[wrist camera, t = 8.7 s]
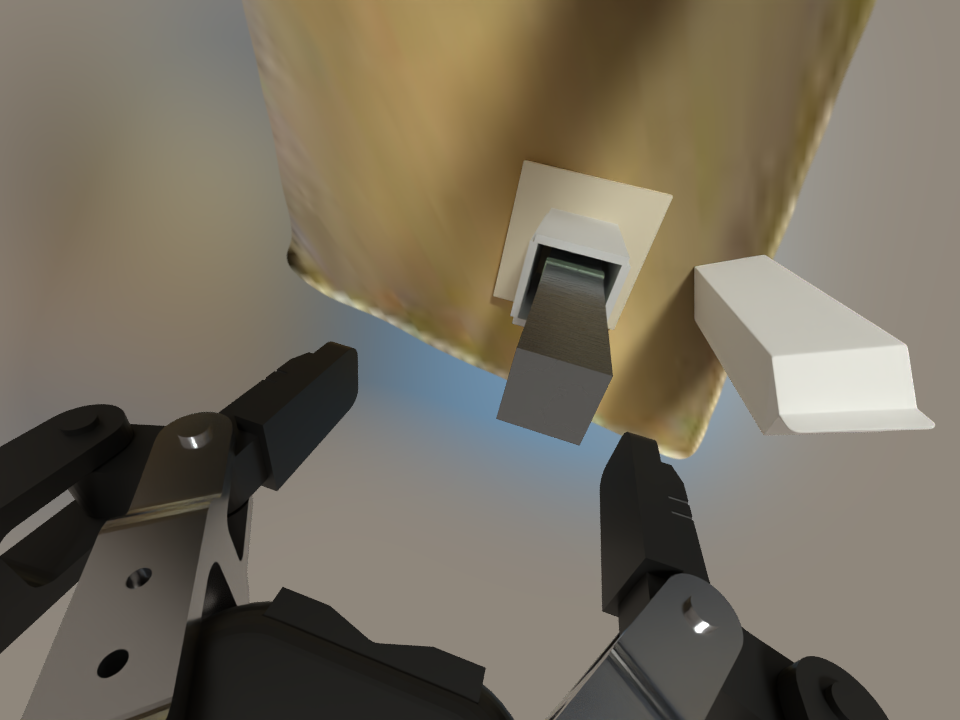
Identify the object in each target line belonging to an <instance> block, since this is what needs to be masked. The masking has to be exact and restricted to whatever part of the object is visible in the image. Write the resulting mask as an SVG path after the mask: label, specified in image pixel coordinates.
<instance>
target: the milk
mask: <svg viewBox="0 0 960 720" xmlns="http://www.w3.org/2000/svg"><path fill="white" fill-rule="evenodd" d="M694 319H695V321H696V323H697V325H698V326H699V328H700V330H701V331H702V333H703V335H704V336H705V338H706V340H707V341H708V343H709V345H710V346H711V348H712V350H713V351H714V353H715V355H716V356H717V358H718V360H719V361H720V363H721V365H722V367H723V368H724V370H725V372H726V373H727V375H728V377H729V378H730V380H731V382H732V383H733V385H734V387H735V388H736V390H737V392H738V393H739V395H740V397H741V398H742V400H743V401H744V403H745V405H746V407H747V408H748V410H749V412H750V413H751V415H752V417H753V418H754V420H755V421H756V423H757V425H758V427H759V428H760V430H761V432H762V433H763V435H795V434H829V433H862V432H883V431H885V430H916V429H932V428H934V426H935V423H934V422H933V421H931V420H930V419H929V418H928V417H927V416H925V415H924V414H923V413H922V412H921V411H919V410H918V409H917V405H916V398H915V392H914V386H913V379H912V372H911V366H910V359H909V353H908V347H907V345H906V344H905V343H903V342H901V341H900V340H898V339H897V338H895V337H894V336H892V335H890V334H889V333H887V332H886V331H884V330H883V329H881V328H879V327H878V326H876V325H875V324H873V323H871V322H870V321H868V320H866V319H865V318H864V317H862V316H860V315H859V314H857V313H856V312H854V311H853V310H851V309H849V308H848V307H846V306H845V305H843V304H841V303H840V302H838V301H837V300H835V299H834V298H832V297H830V296H829V295H827V294H826V293H824V292H823V291H821V290H819V289H818V288H816V287H815V286H813V285H811V284H810V283H808V282H807V281H805V280H804V279H802V278H800V277H799V276H797V275H796V274H794V273H793V272H791V271H789V270H788V269H786V268H785V267H783V266H782V265H780V264H778V263H777V262H775V261H774V260H772V259H770V258H769V257H767V256H766V255H760V256H754V257H748V258H742V259H736V260H730V261H724V262H718V263H712V264H706V265H700V266H695V267H694Z"/></svg>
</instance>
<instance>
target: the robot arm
mask: <svg viewBox="0 0 960 720" xmlns="http://www.w3.org/2000/svg"><path fill="white" fill-rule="evenodd" d="M357 356H358V355H357V351H356V349H354V348H351V347H348V346H344V345H341V344H338V343H335V342H328V343H326V344H325V345H324V346H322V347H321V348H320V349H319V350H317V351H316V352H315V353H310V352H309V353H306V354H303V355H301V356H298V357H296V358H292V359H291V360H289V361H288V362H286V363H285V364H284V365H282V366H281V367H280V368H278V369H277V371H276V372H275V371H274V372H273V373H271V374H270V375H269V376H268V377H266V379H265V380H262V381H261V382H259V383H258V384H257V385H255V386H254V387H253V388H251V389H250V390H248V391H247V392H246V393H244V394H243V395H242V396H240V397H239V398H238V399H236V400H235V401H234V402H232V403H231V404H230V405H228V406H227V407H226V408H224V409H223V410H222V411H220V412H219V413H215V412H199V413H194V414H190V415H186V416H183V417H181V418H179V419H176V420H175V421H173V422H171V423H170V424H168V425H167V426H155V425H137V424H130V423H129V421H128V419H127V417H126V415H125V413H124V412H123V410H122V409H120V408H119V407H116V406H113V405H106V404H98V405H88V406H83V407H79V408H75V409H72V410H69V411H66V412H63V413H61V414H59V415H57V416H55V417H53V418H51V419H49V420H47V421H46V422H44V423H42V424H40V425H39V426H37V427H35V428H33V429H31V430H29V431H28V432H26V433H24V434H22V435H21V436H19V437H17V438H15V439H13V440H12V441H10V442H8V443H6V444H4V445H3V446H1V447H0V542H1V541H2V539H3V538H4V537H5V536H6V534H8V533H9V532H10V531H11V530H12V529H13V528H14V527H16V526H17V525H19V524H20V523H21V522H23V521H24V520H26V519H27V518H28V517H30V516H31V515H32V514H34V513H35V512H37V511H38V510H39V509H40V508H42V507H44V506H45V505H46V504H48V503H49V502H51V501H52V500H53V499H55V498H56V497H57V496H59V495H60V494H62V493H63V492H64V491H66V490H67V489H68V490H69V492H70V493H71V494H72V496H73V497H74V499H75V500H74V501H73V502H71V503H70V504H69V505H67V506H66V507H65V508H63V509H62V510H61V511H59V512H58V513H57V514H56V515H54V516H53V517H51V518H50V519H49V520H47V521H46V522H45V523H43V524H42V525H41V526H39V527H38V528H37V529H36V530H34V531H33V532H31V533H30V534H29V535H28V536H26V537H25V538H24V539H22V540H21V541H20V542H18V543H17V544H16V545H14V546H13V547H12V548H10V549H9V550H8V551H6V552H5V553H4V554H2V555H1V556H0V653H1V652H2V651H4V650H5V649H6V648H7V647H8V646H9V645H10V644H11V643H12V642H13V641H14V640H15V639H16V638H18V637H19V636H20V635H21V634H22V633H23V632H24V631H25V630H26V629H27V628H28V627H29V626H31V625H32V624H33V623H34V622H35V621H36V620H37V619H38V618H39V617H40V616H41V615H42V614H44V613H45V612H46V611H47V610H48V609H49V608H50V607H51V606H52V605H53V604H54V603H55V602H57V601H58V600H59V599H60V598H61V597H62V596H63V595H64V594H65V593H66V592H67V591H68V590H70V589H71V588H72V587H73V586H74V585H75V584H76V583H77V582H78V581H79V582H78V584H77V587H76V589H75V592H74V594H73V596H72V599H71V601H70V604H69V606H68V608H67V611H66V613H65V616H64V618H63V620H62V623H61V625H60V627H59V630H58V632H57V635H56V637H55V639H54V642H53V644H52V647H51V649H50V651H49V654H48V656H47V659H46V661H45V663H44V666H43V668H42V670H41V673H40V675H39V678H38V680H37V682H36V685H35V687H34V690H33V692H32V694H31V697H30V699H29V702H28V704H27V706H26V709H25V711H24V714H23V717H22V718H21V720H514V719H513V717H512V716H511V714H510V713H509V712H508V711H507V709H506V708H505V706H504V705H503V703H502V702H501V701H500V700H499V699H498V698H497V697H496V696H495V695H494V694H493V693H492V692H491V691H490V690H489V689H488V688H486V687H485V686H484V685H483V679H484V673H485V667H482V666H480V665H477V664H475V663H472V662H470V661H467V660H465V659H462V658H460V657H457V656H455V655H452V654H450V653H447V652H445V651H442V650H440V649H437V648H435V647H426V646H412V645H395V644H380V643H375V642H372V641H371V640H369V639H368V638H367V637H366V636H364V635H363V634H362V633H361V632H360V631H359V630H357V629H356V628H355V627H354V626H353V625H352V624H350V623H349V622H348V621H347V620H346V619H345V618H343V617H342V616H341V615H340V614H339V613H338V612H337V611H335V610H334V609H333V608H332V607H331V606H329V605H327V604H324V603H322V602H319V601H317V600H314V599H312V598H309V597H307V596H304V595H302V594H299V593H297V592H294V591H292V590H289V589H286V588H284V587H282V589H281V590H280V592H279V593H278V594H277V596H276V597H275V599H274V600H273V602H269V601H267V602H254V603H249V586H248V577H247V564H248V554H249V542H250V531H251V519H252V507H253V496H252V494H253V493H254V492H255V491H256V490H257V489H258V488H259V487H260V486H264V487H267V488H270V489H273V490H275V491H277V490H279V488H280V487H281V486H282V485H283V484H284V483H285V482H286V480H287V479H288V478H289V477H290V476H291V475H292V474H293V473H294V472H295V470H296V469H297V468H298V467H299V466H300V465H301V464H302V462H303V461H304V460H305V459H306V458H307V457H308V456H309V455H310V453H311V452H312V451H313V450H314V449H315V448H316V447H317V446H318V444H319V443H320V442H321V441H322V440H323V439H324V438H325V437H326V435H327V434H328V433H329V432H330V431H331V430H332V429H333V428H334V426H335V425H336V424H337V423H338V422H339V421H340V419H342V417H343V416H344V415H345V414H346V413H347V412H348V411H349V410H350V408H351V407H352V406H353V404H354V402H355V399H356V397H357V393H358V357H357ZM600 523H601V568H602V611H603V612H606V613H608V614H611V615H614V616H617V617H619V633H618V634H617V635H616V636H615V638H614V639H613V640H612V641H611V643H610V644H609V645H608V646H607V647H606V648H605V650H604V651H603V652H602V653H601V654H600V656H599V657H598V658H597V659H596V660H595V662H594V663H593V664H592V665H591V666H590V668H589V669H588V670H587V671H586V672H585V674H584V675H583V676H582V677H581V679H580V680H579V681H578V682H577V683H576V684H575V686H574V687H573V688H572V689H571V691H570V692H569V693H568V694H567V695H566V696H565V697H564V699H563V700H562V701H561V702H560V703H559V704H558V706H557V707H556V708H555V709H554V710H553V711H552V712H551V713H550V715H549V716H548V717H547V718H546V719H545V720H889V719H888V718H887V716H886V715H885V713H884V712H883V710H882V708H881V707H880V706H879V705H878V703H877V702H876V700H875V699H874V698H873V697H872V696H871V695H870V694H869V692H868V691H867V690H866V689H865V688H864V687H863V686H862V685H861V684H860V683H859V682H858V681H857V680H856V679H855V678H854V677H852V676H851V675H850V674H849V673H847V672H846V671H845V670H843V669H842V668H841V667H839V666H837V665H836V664H834V663H832V662H830V661H828V660H826V659H823V658H820V657H815V656H808V657H805V658H802V659H801V660H799V661H797V662H795V663H794V662H792V661H791V660H789V659H788V658H786V657H785V656H783V655H782V654H780V653H779V652H777V651H776V650H774V649H773V648H771V647H770V646H768V645H767V644H765V643H764V642H762V641H761V640H759V639H758V638H756V637H755V636H753V635H752V634H750V633H749V632H748V631H746V630H745V629H744V628H743V627H741V624H740V622H739V619H738V617H737V615H736V613H735V611H734V609H733V608H732V606H731V605H730V603H729V602H728V601H727V600H726V599H725V597H724V596H723V595H722V594H721V593H720V592H719V591H718V590H717V589H716V588H714V587H713V586H712V585H711V584H710V582H709V578H708V575H707V571H706V567H705V563H704V559H703V556H702V552H701V548H700V544H699V540H698V537H697V533H696V529H695V525H694V521H693V520H692V514H691V510H690V506H689V505H688V499H687V495H686V491H685V487H684V483H683V482H682V480H681V479H680V477H679V476H678V475H677V473H676V471H675V470H674V469H673V467H672V465H669V464H666V463H662V462H661V460H660V454H659V450H658V445H657V442H656V441H655V440H653V439H649V438H646V437H643V436H639V435H636V434H633V433H629V432H626V433H624V434H623V436H622V437H621V439H620V441H619V443H618V445H617V447H616V448H615V450H614V452H613V454H612V456H611V458H610V459H609V461H608V463H607V465H606V467H605V469H604V471H603V474H602V478H601V483H600Z"/></svg>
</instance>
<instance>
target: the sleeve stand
mask: <svg viewBox="0 0 960 720" xmlns="http://www.w3.org/2000/svg"><path fill="white" fill-rule="evenodd" d="M672 198H673V196H672V195H670V194H667V193H663V192H658V191H654V190H650V189H646V188H642V187H637V186H633V185H629V184H625V183H621V182H617V181H612V180H608V179H604V178H600V177H596V176H591V175H587V174H583V173H579V172H575V171H570V170H566V169H562V168H558V167H554V166H549V165H545V164H541V163H537V162H533V161H529V160H524V162H523V167H522V171H521V176H520V180H519V184H518V189H517V193H516V198H515V202H514V206H513V211H512V215H511V220H510V224H509V228H508V233H507V237H506V242H505V246H504V251H503V255H502V259H501V264H500V268H499V273H498V277H497V281H496V286H495V290H494V295H493V296H495V297H499V298H502V299H506V300H509V301H513V302H514V303H513V307H512V311H511V315H510V316H513V317H514V318H513V322H512V324H516V325H519V326H523V327H524V326H525V323H526V320H527V317H528V315H529V312H530V309H531V306H532V303H533V300H534V298H535V295H536V292H537V289H538V286H539V283H540V279H541V276H542V273H543V269H544V266H545V262H546V259H547V257H549V255H550V252H551V249H552V247H554V248H558V249H562V250H566V251H570V252H573V253H577V254H581V255H585V256H589V257H592V258H596V259H600V260H601V266H602V271H603V272H604V279H603V286H604V295H605V305H606V315H607V325H608V329H612V330H614V328H615V326H616V324H617V321H618V319H619V317H620V315H621V312H622V310H623V308H624V306H625V303H626V301H627V299H628V297H629V294H630V292H631V290H632V288H633V285H634V283H635V281H636V279H637V276H638V274H639V272H640V270H641V267H642V265H643V263H644V261H645V258H646V256H647V254H648V252H649V249H650V247H651V245H652V243H653V240H654V238H655V236H656V234H657V231H658V229H659V227H660V225H661V222H662V220H663V218H664V216H665V213H666V211H667V209H668V207H669V204H670V202H671V200H672Z"/></svg>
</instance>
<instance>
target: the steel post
mask: <svg viewBox="0 0 960 720" xmlns="http://www.w3.org/2000/svg"><path fill="white" fill-rule="evenodd" d="M603 279H604V272H603V271H602V266H601V260H600V259H596V258H592V257H589V256H585V255H581V254H577V253H573V252H570V251H566V250H562V249H558V248H554V247H552V249H551V252H550V255H549V257H547V259H546V262H545V266H544V269H543V273H542V276H541V279H540V283H539V286H538V289H537V292H536V295H535V298H534V300H533V303H532V306H531V309H530V312H529V315H528V317H527V320H526V323H525V326H524V329H523V332H522V334H521V337H520V340H519V343H518V346H517V349H516V352H515V356H514V359H513V363H512V366H511V370H510V373H509V376H508V380H507V383H506V387H505V390H504V394H503V397H502V401H501V404H500V408H499V411H498V415H497V419H499V420H502V421H505V422H508V423H511V424H514V425H517V426H520V427H523V428H527V429H530V430H533V431H536V432H539V433H542V434H545V435H548V436H551V437H554V438H558V439H561V440H564V441H567V442H570V443H573V444H576V445H580V443H581V441H582V439H583V437H584V435H585V433H586V431H587V429H588V427H589V424H590V423H591V421H592V418H593V416H594V414H595V412H596V410H597V408H598V406H599V404H600V402H601V400H602V398H603V396H604V393H605V391H606V389H607V387H608V385H609V383H610V381H611V379H612V377H613V373H612V364H611V354H610V344H609V334H608V325H607V315H606V305H605V295H604V286H603Z"/></svg>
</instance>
